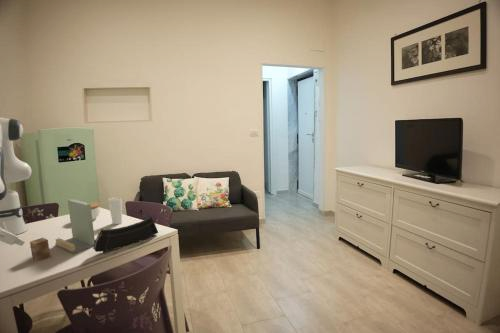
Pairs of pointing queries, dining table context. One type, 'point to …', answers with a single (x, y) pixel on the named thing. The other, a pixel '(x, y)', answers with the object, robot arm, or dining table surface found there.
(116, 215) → the drinking glass
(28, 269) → the dining table surface
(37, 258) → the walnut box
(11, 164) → the robot arm
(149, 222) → the magazine
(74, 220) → the wall board
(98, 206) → the lidded bowl
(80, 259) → the dining table surface
